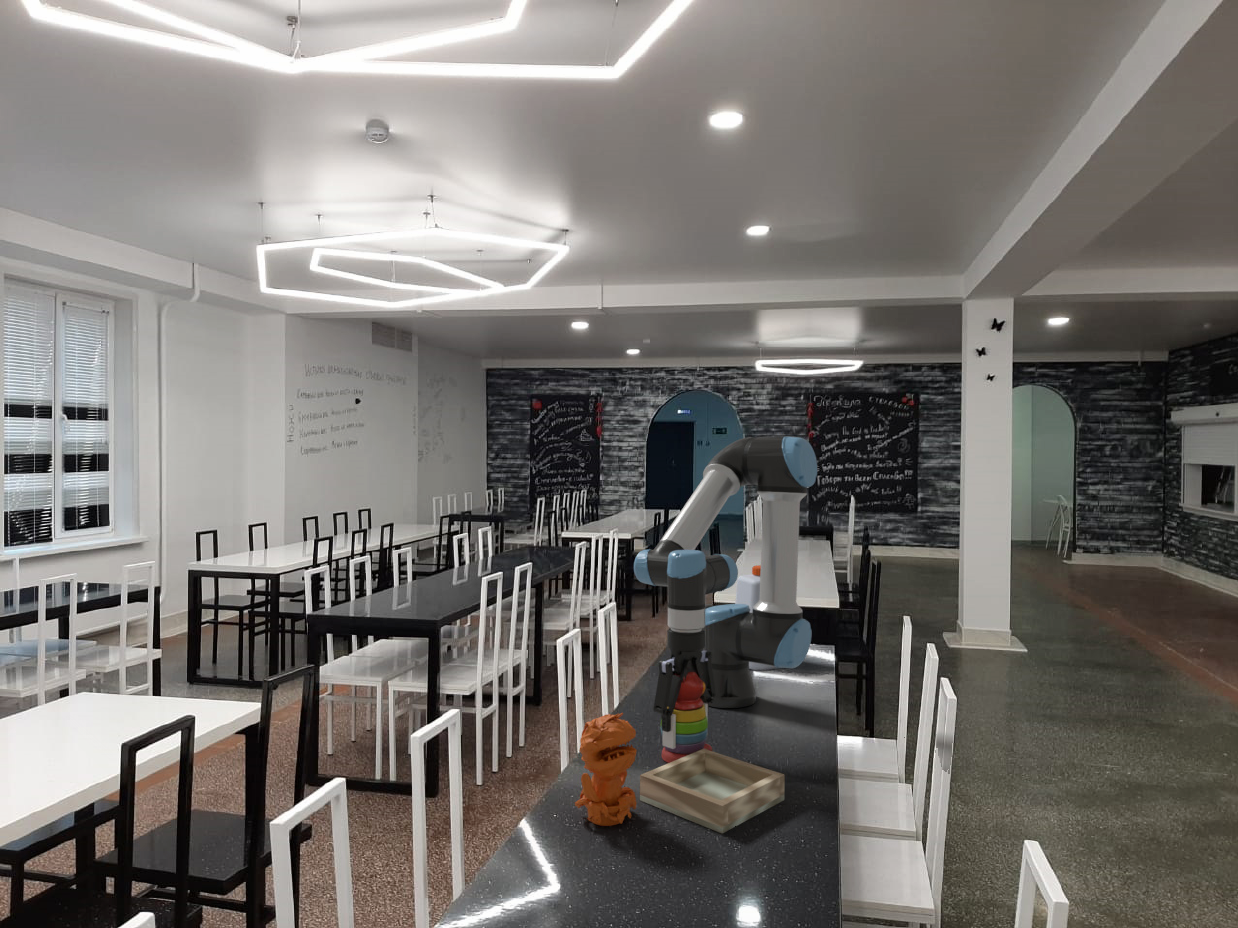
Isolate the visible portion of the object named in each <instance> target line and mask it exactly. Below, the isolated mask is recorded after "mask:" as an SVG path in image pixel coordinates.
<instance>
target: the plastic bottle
mask: <svg viewBox="0 0 1238 928" xmlns="http://www.w3.org/2000/svg"><path fill="white" fill-rule="evenodd" d="M751 570H752V571H751V574H741V575H740V576H738V577H737V580H736V590H735V591H736V592H735V602H734V604H746V605H748V606H749V608H750V613H753V606H754V605H755V604H756V603H758V601H759V600H760V573H761V564H760V565H759V564H758V565H754V566H753V567H751ZM778 669H783V668H782V667H780V668H777V667H775V666H771V665H765V664H760V663H754V662H749V670H753V671H769V670H778Z"/></svg>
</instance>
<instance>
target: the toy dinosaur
mask: <svg viewBox="0 0 1238 928" xmlns="http://www.w3.org/2000/svg"><path fill="white" fill-rule="evenodd" d="M623 715H624V712H621V713H619V712H618V713H616V714H611V713H608V714H604V715H602V716H599V717H596V718H593V719H592V720H590V721H587V722H585V724H584V726H583V730H582V731H581V737H580V741H579V742H580V746H579V750H578V751H579V752H580V754H581V759H580V760H581V761H583V762H584V766H583V769H586V770H587V771H589V773H590V774H592V773H593V774H592V776H590V774H589V773H587V772H583V773H582V775H581V776H580V781H581V786H582V789H581V792H580V794H579V799H578V800H577V801H574V806H575V807H577V809H580V808H582V807H583V806H584V807H585V808H586V810H587V816H588V817H587V818H586V819H587V820H588V821H589V822H591V823H592V824H594V825H598V826H602V827H606V826H607V827H608V826H609V827H610V826H617V825H619V824H623V822H624V820H625V817H626V816H627V818H629V819H631V818H632V813H631V808H632V809H633V810H636V809H637V797H636V794H635V793H636V791H634V790H633V789H632V788H630V787H629V786H625V785H624V784H625V783H626V778H627V776H628V770H629V769H630V768H631V767H632V765H633V763H634V762H636V755H637V751H638V750H637V749H636V748H635V747H633V744H630V741H631V740H633V739H635V738H636V733H637V731H636V729H635V728H634V727H633V726H632V724H630V723H629V721H628V720H626V719H621V717H622V716H623ZM623 744H624V745H623Z"/></svg>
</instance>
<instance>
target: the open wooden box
mask: <svg viewBox="0 0 1238 928" xmlns="http://www.w3.org/2000/svg"><path fill="white" fill-rule="evenodd" d="M639 801H640V802H643V803H645V804H648V805H650V806H654V807H655V808H657V809H658V808H659V809H660V810H663V811H666V812H668V813H670V814H674V815H676V816H678V817H681V818H683V819H686V820H688V821H690V822H693V823H694V824H698V825H700V826H702V827H705V828H707V829H710V830H713V831H715V832H717V833H719V834H724V833H726V832H728V831H729V830H732V829H734V828H736V827H737V826H739V825H741V824H742V823H745V822H746V821H749V820H750V819H752V818H754V817H756V816H757V815H759V814H761V813H763V812H765V811H767V810H768V809H771V808H772V807H774V806H776V805H778V804H779V803H781V802H783V801H785V774H784V773H781V772H778V771H775V770H771V769H768V768H765V767H763V766H760V765H756V764H753V763H750V762H748V761H747V762H746V761H743V760H740V759H738V758H735V757H731V756H728V755H726V754H725V755H724V754H721V753H719V752H716V751H713V750H712V751H710V750H707V749H702V750H699V751H697V752H695V753H692V754H690V755H687V756H685V757H683V758H680V759H678V760H675V761H673V762H670V763H668V762H667V763H666V764H663V765H661V766H659V767H657V768H654V769H652V770H649V771H647V772H643V773H642V774H640V776H639ZM735 826H736V827H735Z"/></svg>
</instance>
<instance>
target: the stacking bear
mask: <svg viewBox="0 0 1238 928" xmlns="http://www.w3.org/2000/svg"><path fill="white" fill-rule="evenodd" d="M675 675H676V674H675ZM676 676H680V675H676ZM705 689H706V685H705V683H704V682H703V681H702V680H701V679H700V678H699V677H698V675H697V674H696V673H695V672H689V673H687V676H686V679H685V676H684V679H683V682H682V683H681V688H680V692H679V695H678V698H677V701H676V704H675V708H674V711H673V714H675V715H676V748H674V749H671V748H668V747H665V746H663V748H662V750H661V758H662V760H663V761H664V762H665V763H667V764H668V763H670V762H673V761H675V760H678V759H680V758H683V757H685V756H687V755H690V754H692V753H695V752H697V751H699V750H702V749H707V750H710V751H713V747H712V746H711V745H710V744H708V743H706V739H707V737H708V732H707V730H708V728H707V727H708V726H709V723H708V722H707V717H706V712H705V708H704V705H703V701H702V700H701V699H700V697H701V695H702V694H703V693H704V691H705ZM667 708H668V707H667ZM660 733H661V737H662V740H663V731H662V729H661V728H660Z"/></svg>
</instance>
